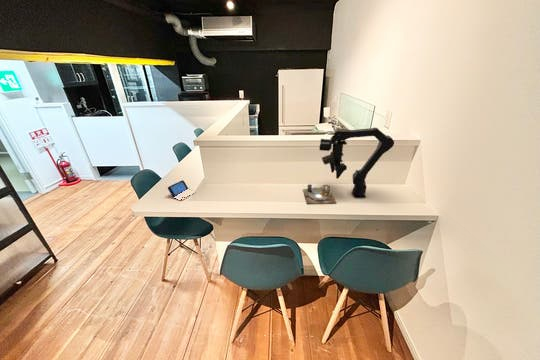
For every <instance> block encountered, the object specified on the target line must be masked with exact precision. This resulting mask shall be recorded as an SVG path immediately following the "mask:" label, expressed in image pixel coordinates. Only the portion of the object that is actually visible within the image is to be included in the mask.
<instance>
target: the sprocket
mask: <svg viewBox="0 0 540 360" xmlns="http://www.w3.org/2000/svg"><path fill="white" fill-rule="evenodd" d="M307 189H308V192H307V193H306V196H308V197H309V198H311V199H313V200H314V201H325V200H328V201H329V200H330V197H331V195H333V192H332V191H331V190H330V191H329V195H323V194H322V190H323V186H320V187H313V185H312V184H311V183H310V184H307Z"/></svg>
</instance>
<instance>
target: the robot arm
mask: <svg viewBox="0 0 540 360" xmlns="http://www.w3.org/2000/svg"><path fill="white" fill-rule="evenodd" d="M364 137H366V138H367V137H375V139H377V140H378V141H379V142H378V143H377V145H376V149H375V150H374V151H373V153H372V154H371V156H370V157H369V158H368V159H367V161H366V162H365V163H364V164H363V166H362V167H361V168H360V169H359V170H358V169H355V172H354V173H352V183H353V187H352V191H351V194H352V195H353V197H354V198H355V199H357V198H361V199H363V198H366V197H367V196H366V190H367V184H366V178H367V176H368V174H369V173H370V171H371V170H372V169H373V167H374V166H375V165H376V163H377V162H378V161H379V159H381V157H382V156H383V155H384V154H385V153H387V152H388V151H389V150H391V149H392V148H393V147H394V145H395V141H394V139H393V138H392V136H390V135H386V134H385V133H383V132H382V131H381V130H380V129H379V128H378V127H372V128H371V127H370V128H359V129H347V128H337V129H335V131H334V132H333V135H332V136H331V137H330V139H329V138H327V139H325V138H320V142H319V143H320V144H319V151H321V152H323V151H324V152H329V151H330V150H331V151H330V154H328V155H325V156H323V157H321V159H322V163H323V165H329V166H330V171H331V173H332V174H333V173H335V178H336V180H337V179H339V178H340V177H341V176H342V174H343V173H344V171H347V168H348V167H347V165H346V164H345V163H343V160H342V157H343V156H344V153H343V151H344V145H346V146H347V144H348V142H347V141H346V140H348V139H353V138H364Z"/></svg>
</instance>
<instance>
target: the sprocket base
mask: <svg viewBox="0 0 540 360" xmlns="http://www.w3.org/2000/svg"><path fill="white" fill-rule="evenodd" d="M329 191H331V188H330V189H329ZM302 192H303V195H304V199H305V201H306V205H337V201H336V199H335V197H334V195H333V194H332V195H331V197H330V200H329V201H328V200H325V201H314V200H313V199H311V198H309V197H308V196H306V193H307V192H308V188H303V189H302Z"/></svg>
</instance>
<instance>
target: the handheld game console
mask: <svg viewBox="0 0 540 360" xmlns="http://www.w3.org/2000/svg"><path fill="white" fill-rule="evenodd" d="M167 189H168V192H169V193H170V194H171V196H172V198H173V197H175V196H177V195H178V194H180V193H182V192H183V191H185V190H187V189H189V186H188V185H187V184H186V182H185V181H184V180H183V179H182V180H180V181H178V182H176V183H173V184H171V185H170V186H168V187H167ZM182 198H183V197H182ZM184 198H185V197H184ZM181 200H182V199H181ZM182 201H183V200H182Z"/></svg>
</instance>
